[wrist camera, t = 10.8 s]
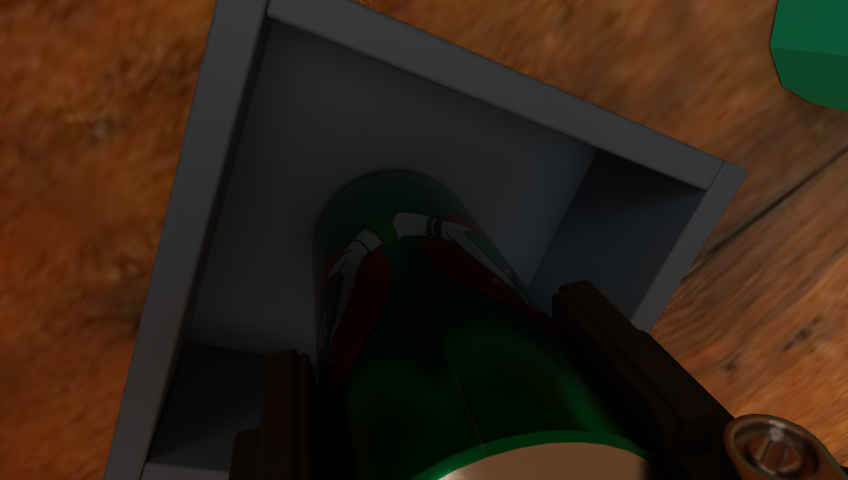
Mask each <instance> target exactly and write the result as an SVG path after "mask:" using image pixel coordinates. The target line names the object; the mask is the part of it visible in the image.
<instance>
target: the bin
mask: <svg viewBox="0 0 848 480" xmlns="http://www.w3.org/2000/svg"><path fill="white" fill-rule="evenodd" d="M386 172H410V173H416V174H420V175H424V176H427V177H429V178H432V179H434V180H436V181H438V182H440V183H441V184H443V185H444V186H446V187H447V188H448V189H450V190H451V191H452V192H453V193H454V194H455V195H456V196H457V197H458V199H459V200H460V201H461V202H462V204H463V205H464V206H465V208H466V209H467V210H468V212H469V213H470V214H471V215H472V217H473V218H474V219H475V221H476V222H477V223H478V225H479V226H480V227H481V228H482V230H483V231H484V232H485V234H486V235H487V236H488V238H489V239H490V240H491V241H492V243H493V244H494V245H495V247H496V248H497V249H498V250H499V252H500V253H501V254H502V256H503V257H504V258H505V260H506V261H507V262H508V263H509V265H510V266H511V267H512V269H513V270H514V271H515V273H516V274H517V275H518V276H519V278H520V279H521V280H522V282H523V283H524V284H525V285H526V287H527V288H528V289H529V291H530V292H531V293H532V295H533V296H534V297H535V298H536V300H537V301H538V302H539V304H540V305H541V306H542V308H543V309H544V310H545V311H546V313H547V314H548V315H549V317H550V318H551V319H552V295H553V294H555V293H558V290H559V287H560V286H561V285H563V284H568V283H572V282H576V281H580V280H584V279H585V280H588V281H590V282H591V283H592V284H593V285H594V286H595V287H596V288H597V289H598V290H599V291H600V292H601V293H602V294H603V295H604V296H605V297H606V298H607V299H608V300H609V301H610V302H611V303H612V304H613V305H614V306H615V307H616V308H617V309H618V310H619V311H620V312H621V313H622V314H623V315H624V316H625V317H626V318H627V319H628V320H629V321H630V322H631V323H632V324H633V325H634V326H635V327H636V328H637V329H638V330H642V331H645V332H646V333H648V334H649V333H650V331H651V330H652V328H653V326H654V325H655V323H656V322H657V320H658V318H659V317H660V315H661V313H662V312H663V310H664V309H665V307H666V305H667V304H668V302H669V300H670V299H671V297H672V296H673V294H674V292H675V291H676V289H677V288H678V286H679V284H680V283H681V281H682V279H683V278H684V276H685V275H686V273H687V271H688V270H689V268H690V267H691V265H692V263H693V262H694V260H695V258H696V257H697V255H698V254H699V252H700V250H701V249H702V247H703V246H704V244H705V242H706V241H707V239H708V237H709V236H710V234H711V233H712V231H713V229H714V228H715V226H716V224H717V223H718V221H719V220H720V218H721V216H722V215H723V213H724V212H725V210H726V208H727V207H728V205H729V203H730V202H731V200H732V199H733V197H734V195H735V194H736V192H737V191H738V189H739V187H740V186H741V184H742V182H743V181H744V179H745V178H746V176H747V174H748V171H747V170H746V169H743V168H741V167H739V166H736V165H734V164H732V163H729V162H727V161H725V160H722V159H720V158H718V157H715V156H713V155H711V154H709V153H706V152H704V151H702V150H699V149H697V148H695V147H692V146H690V145H688V144H685V143H683V142H681V141H678V140H676V139H674V138H671V137H669V136H667V135H664V134H662V133H660V132H657V131H655V130H653V129H650V128H648V127H646V126H643V125H641V124H639V123H636V122H634V121H632V120H630V119H627V118H625V117H623V116H620V115H618V114H616V113H613V112H611V111H609V110H606V109H604V108H602V107H599V106H597V105H595V104H592V103H590V102H588V101H585V100H583V99H581V98H578V97H576V96H574V95H571V94H569V93H567V92H564V91H562V90H560V89H557V88H555V87H553V86H551V85H548V84H546V83H544V82H541V81H539V80H537V79H534V78H532V77H530V76H527V75H525V74H523V73H520V72H518V71H516V70H513V69H511V68H509V67H506V66H504V65H502V64H499V63H497V62H495V61H492V60H490V59H488V58H485V57H483V56H481V55H479V54H476V53H474V52H472V51H469V50H467V49H465V48H462V47H460V46H458V45H455V44H453V43H451V42H448V41H446V40H444V39H441V38H439V37H437V36H434V35H432V34H430V33H427V32H425V31H423V30H420V29H418V28H416V27H413V26H411V25H409V24H406V23H404V22H402V21H400V20H397V19H395V18H393V17H390V16H388V15H386V14H383V13H381V12H379V11H376V10H374V9H372V8H369V7H367V6H365V5H362V4H360V3H358V2H355V1H353V0H216V3H215V7H214V12H213V16H212V20H211V24H210V29H209V33H208V37H207V41H206V46H205V50H204V54H203V58H202V63H201V67H200V71H199V75H198V79H197V84H196V88H195V92H194V96H193V101H192V105H191V109H190V113H189V118H188V122H187V126H186V130H185V135H184V139H183V143H182V147H181V151H180V156H179V160H178V164H177V168H176V173H175V177H174V181H173V185H172V190H171V194H170V198H169V202H168V206H167V211H166V215H165V219H164V223H163V228H162V232H161V236H160V240H159V245H158V249H157V253H156V257H155V262H154V266H153V270H152V274H151V278H150V283H149V287H148V291H147V295H146V300H145V304H144V308H143V312H142V317H141V321H140V325H139V329H138V334H137V338H136V342H135V346H134V350H133V355H132V359H131V363H130V367H129V372H128V376H127V380H126V384H125V389H124V393H123V397H122V401H121V406H120V410H119V414H118V418H117V422H116V427H115V431H114V435H113V439H112V444H111V448H110V452H109V456H108V461H107V465H106V469H105V473H104V477H103V480H228V479H229V473H230V466H231V459H232V452H233V446H234V440H235V436H236V434H237V433H238V432H240V431H244V430H248V429H252V428H256V427H260V420H261V409H262V399H263V388H264V377H265V367H266V358H267V355H270V354H274V353H278V352H282V351H286V350H291V349H296V350H297V352H298V355H301V354H305V353H307V354H308V356H309V359H310V362H311V365H312V369H313V372H314V375H315V379H316V382H317V386H318V376H317V355H316V333H315V311H314V289H313V268H312V242H313V236H314V233H315V229H316V226H317V224H318V222H319V220H320V217H321V215H322V214H323V212H324V211H325V209H326V208H327V206H328V205H329V204H330V203H331V202H332V201H333V200H334V199H335V197H336V196H337V195H338V194H340V193H341V192H342V191H344V190H345V189H346V188H347V187H349V186H351V185H352V184H354V183H356V182H358V181H360V180H362V179H364V178H367V177H370V176H372V175H376V174H381V173H386Z"/></svg>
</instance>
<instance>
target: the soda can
mask: <svg viewBox="0 0 848 480" xmlns="http://www.w3.org/2000/svg"><path fill="white" fill-rule="evenodd" d="M312 268H313V289H314V311H315V333H316V355H317V376H318V398H319V420H320V442H321V463H322V480H673V479H672V476H671V474H670V473H669V472H668V470H667V469H666V467H665V466H664V465H663V463H662V462H661V461H660V459H659V458H658V457H657V455H656V454H655V453H654V452H653V450H652V449H651V448H650V446H649V445H648V444H647V442H646V441H645V440H644V439H643V437H642V436H641V435H640V433H639V432H638V431H637V429H636V428H635V427H634V426H633V424H632V423H631V422H630V420H629V419H628V418H627V417H626V415H625V414H624V413H623V411H622V410H621V409H620V407H619V406H618V405H617V404H616V402H615V401H614V400H613V398H612V397H611V396H610V394H609V393H608V392H607V391H606V389H605V388H604V387H603V385H602V384H601V383H600V381H599V380H598V379H597V378H596V376H595V375H594V374H593V372H592V371H591V370H590V369H589V367H588V366H587V365H586V363H585V362H584V361H583V359H582V358H581V357H580V356H579V354H578V353H577V352H576V350H575V349H574V348H573V346H572V345H571V344H570V343H569V341H568V340H567V339H566V337H565V336H564V335H563V333H562V332H561V331H560V330H559V328H558V327H557V326H556V324H555V323H554V322H553V321H552V319H551V318H550V317H549V315H548V314H547V313H546V311H545V310H544V309H543V308H542V306H541V305H540V304H539V302H538V301H537V300H536V298H535V297H534V296H533V295H532V293H531V292H530V291H529V289H528V288H527V287H526V285H525V284H524V283H523V282H522V280H521V279H520V278H519V276H518V275H517V274H516V273H515V271H514V270H513V269H512V267H511V266H510V265H509V263H508V262H507V261H506V260H505V258H504V257H503V256H502V254H501V253H500V252H499V250H498V249H497V248H496V247H495V245H494V244H493V243H492V241H491V240H490V239H489V238H488V236H487V235H486V234H485V232H484V231H483V230H482V228H481V227H480V226H479V225H478V223H477V222H476V221H475V219H474V218H473V217H472V215H471V214H470V213H469V212H468V210H467V209H466V208H465V206H464V205H463V204H462V202H461V201H460V200H459V199H458V197H457V196H456V195H455V194H454V193H453V192H452V191H451V190H450V189H448V188H447V187H446V186H444V185H443V184H441V183H440V182H438V181H436V180H434V179H432V178H429V177H427V176H424V175H420V174H416V173H410V172H386V173H381V174H376V175H372V176H370V177H367V178H364V179H362V180H360V181H358V182H356V183H354V184H352V185H351V186H349V187H347V188H346V189H345V190H344V191H342V192H341V193H340V194H338V195H337V196H336V197H335V199H334V200H333V201H332V202H331V203H330V204H329V205H328V206H327V208H326V209H325V211H324V212H323V214H322V215H321V217H320V220H319V222H318V224H317V226H316V229H315V233H314V236H313V242H312Z"/></svg>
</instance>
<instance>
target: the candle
mask: <svg viewBox="0 0 848 480" xmlns="http://www.w3.org/2000/svg"><path fill="white" fill-rule="evenodd" d="M770 49H771V52H772V55H773V58H774V62H775V65H776V68H777V71H778V74H779V78H780V81H781V84H782V86H784V87H785V88H787V89H789V90H790V91H792V92H794V93H795V94H797V95H798V96H800V97H802V98H803V99H805V100H807V101H808V102H810V103H813V104H818V105H823V106H827V107H832V108H836V109H841V110H846V111H848V0H779V1H778V6H777V12H776V17H775V22H774V28H773V33H772V38H771V44H770Z"/></svg>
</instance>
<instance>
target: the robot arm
mask: <svg viewBox="0 0 848 480" xmlns="http://www.w3.org/2000/svg"><path fill="white" fill-rule="evenodd" d="M552 321H553V322H554V323H555V324H556V326H557V327H558V328H559V330H560V331H561V332H562V333H563V335H564V336H565V337H566V339H567V340H568V341H569V343H570V344H571V345H572V346H573V348H574V349H575V350H576V352H577V353H578V354H579V356H580V357H581V358H582V359H583V361H584V362H585V363H586V365H587V366H588V367H589V369H590V370H591V371H592V372H593V374H594V375H595V376H596V378H597V379H598V380H599V381H600V383H601V384H602V385H603V387H604V388H605V389H606V391H607V392H608V393H609V394H610V396H611V397H612V398H613V400H614V401H615V402H616V404H617V405H618V406H619V407H620V409H621V410H622V411H623V413H624V414H625V415H626V417H627V418H628V419H629V420H630V422H631V423H632V424H633V426H634V427H635V428H636V429H637V431H638V432H639V433H640V435H641V436H642V437H643V439H644V440H645V441H646V442H647V444H648V445H649V446H650V448H651V449H652V450H653V452H654V453H655V454H656V455H657V457H658V458H659V459H660V461H661V462H662V463H663V465H664V466H665V467H666V469H667V470H668V472H669V473H670V474H671V476H672V479H673V480H848V468H847V467H844V466H841V465H839V464H838V463H837V461H836V460H835V459H834V457H833V456H832V455H831V453H830V452H829V451H828V449H827V448H826V447H825V446H824V445H823V443H822V442H821V441H820V440H819V439H818V438H817V437H816V436H815V435H813V434H812V433H810V432H809V431H807V430H806V429H804V428H803V427H802V426H800V425H797V424H795V423H793V422H791V421H788V420H786V419H783V418H779V417H775V416H771V415H764V414H749V415H743V416H739V417H737V418H734V417H733V416H732V415H731V414H730V413H729V412H728V411H727V410H726V409H725V408H724V407H723V406H722V405H721V404H720V403H719V402H718V401H717V400H716V399H715V398H714V397H713V396H712V395H711V394H710V393H709V392H707V391H706V390H705V389H704V388H703V387H702V386H701V385H700V384H699V383H698V382H697V381H696V380H695V379H694V378H693V377H692V376H691V375H690V374H689V373H688V372H687V371H686V370H685V369H684V368H683V367H682V366H681V365H680V364H679V363H678V362H677V361H676V360H675V359H674V358H673V357H672V356H671V355H670V354H669V353H668V352H667V351H666V350H665V349H664V348H663V347H662V346H661V345H660V344H659V343H658V342H657V341H655V340H654V339H653V338H652V337H651V336H650V335H649V334H648V333H646V332H645V331H642V330H638V329H637V328H636V327H635V326H634V325H633V324H632V323H631V322H630V321H629V320H628V319H627V318H626V317H625V316H624V315H623V314H622V313H621V312H620V311H619V310H618V309H617V308H616V307H615V306H614V305H613V304H612V303H611V302H610V301H609V300H608V299H607V298H606V297H605V296H604V295H603V294H602V293H601V292H600V291H599V290H598V289H597V288H596V287H595V286H594V285H593V284H592V283H591V282H590V281H588V280H585V279H584V280H580V281H576V282H572V283H568V284H563V285H561V286H560V287H559V290H558V293H555V294H553V295H552ZM228 480H322V463H321V442H320V420H319V398H318V386H317V382H316V379H315V375H314V372H313V369H312V365H311V362H310V359H309V356H308V354H307V353H305V354H301V355H298V352H297V350H296V349H291V350H286V351H282V352H278V353H274V354H270V355H267V358H266V367H265V377H264V388H263V399H262V409H261V420H260V427H256V428H252V429H248V430H244V431H240V432H238V433H237V434H236V436H235V440H234V446H233V452H232V459H231V466H230V473H229V479H228Z"/></svg>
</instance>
